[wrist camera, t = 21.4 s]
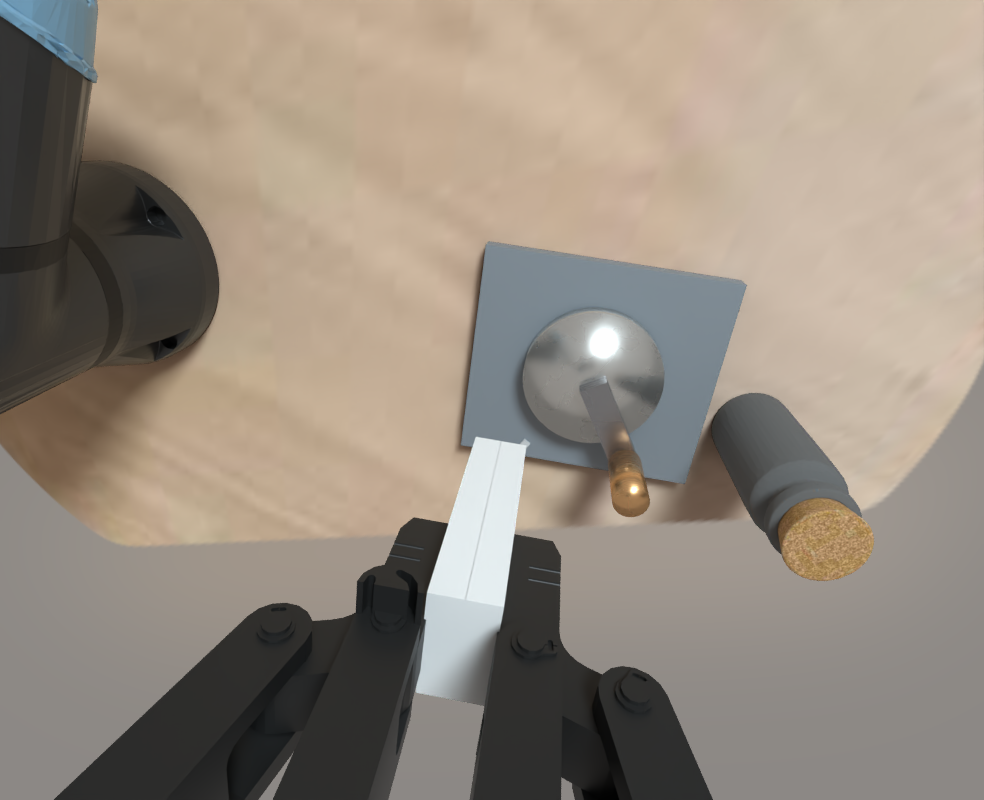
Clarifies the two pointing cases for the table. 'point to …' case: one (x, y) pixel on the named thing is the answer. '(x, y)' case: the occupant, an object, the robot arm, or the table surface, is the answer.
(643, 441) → the board
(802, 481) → the bottle
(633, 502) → the dial
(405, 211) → the table surface
